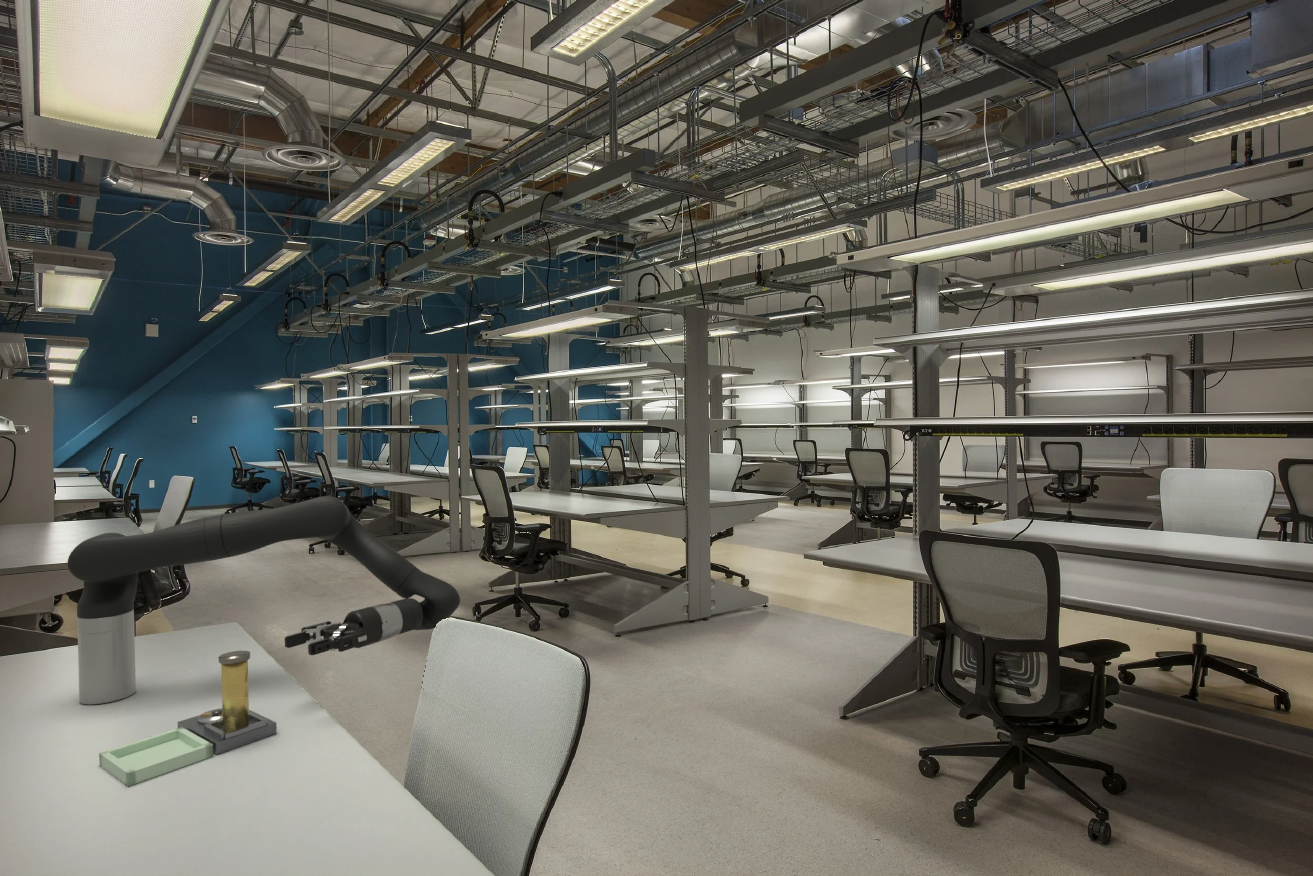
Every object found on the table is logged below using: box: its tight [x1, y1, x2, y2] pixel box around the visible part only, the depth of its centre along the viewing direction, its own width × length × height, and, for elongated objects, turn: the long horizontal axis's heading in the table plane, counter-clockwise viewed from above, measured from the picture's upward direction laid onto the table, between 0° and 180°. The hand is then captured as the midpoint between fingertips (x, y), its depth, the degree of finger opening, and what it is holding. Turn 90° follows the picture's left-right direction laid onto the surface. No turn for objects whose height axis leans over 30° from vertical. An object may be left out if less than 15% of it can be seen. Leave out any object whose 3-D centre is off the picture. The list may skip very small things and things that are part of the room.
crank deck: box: [177, 708, 277, 756], centre depth 128 cm, size 15×10×3 cm, turn 55°
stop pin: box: [218, 650, 251, 732], centre depth 126 cm, size 5×5×13 cm
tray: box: [98, 727, 214, 787], centre depth 118 cm, size 12×12×2 cm
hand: (297, 646), depth 136 cm, fingers open, 8 cm apart
